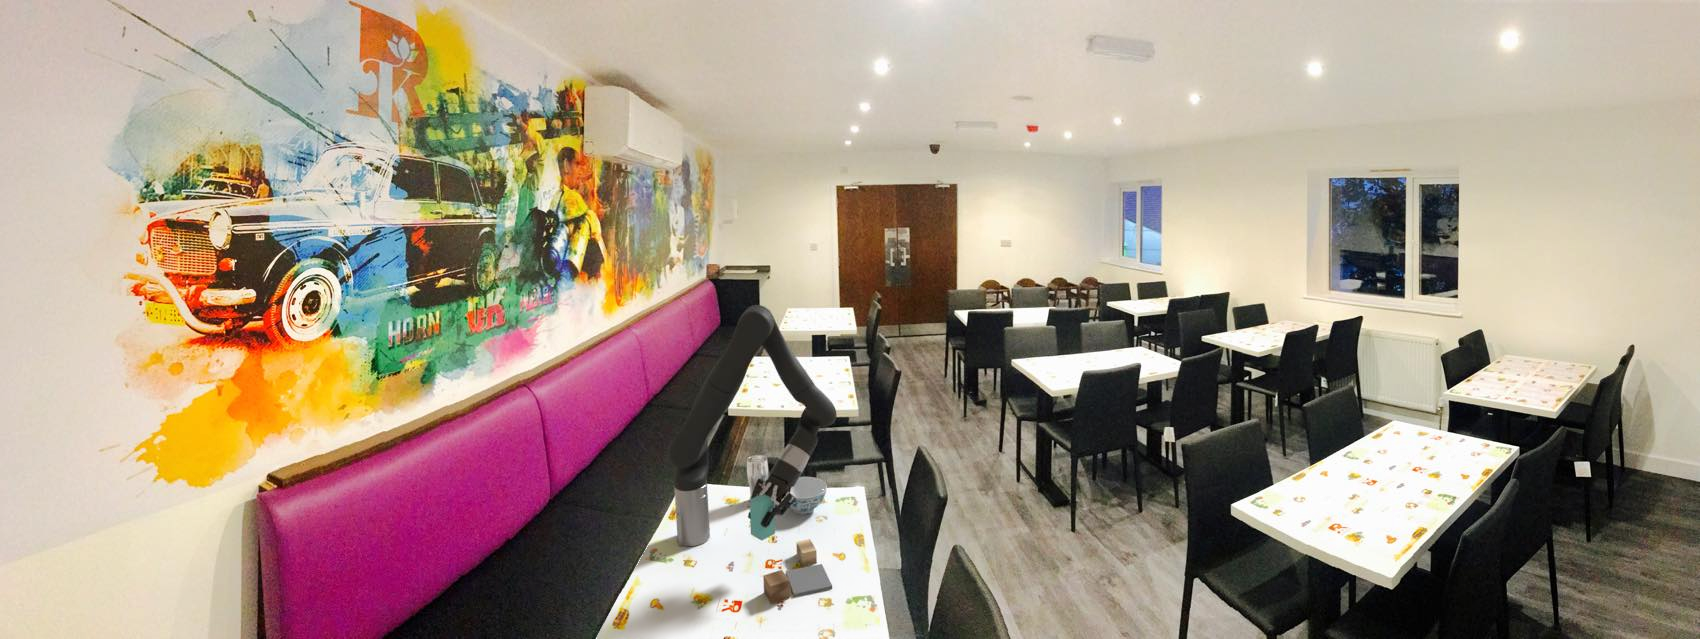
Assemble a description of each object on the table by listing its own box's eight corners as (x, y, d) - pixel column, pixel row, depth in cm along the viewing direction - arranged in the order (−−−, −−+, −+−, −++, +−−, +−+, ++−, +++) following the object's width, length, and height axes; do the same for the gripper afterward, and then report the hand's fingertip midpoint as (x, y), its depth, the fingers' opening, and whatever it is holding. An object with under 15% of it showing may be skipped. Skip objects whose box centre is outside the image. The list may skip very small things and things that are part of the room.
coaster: (794, 596, 148) (794, 593, 148) (785, 573, 158) (785, 571, 158) (832, 588, 152) (832, 585, 151) (821, 566, 161) (821, 563, 161)
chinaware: (825, 521, 184) (825, 498, 183) (777, 521, 184) (777, 498, 183) (828, 498, 199) (828, 476, 197) (783, 498, 199) (783, 476, 198)
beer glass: (765, 507, 193) (763, 464, 190) (745, 505, 194) (743, 462, 191) (772, 497, 200) (770, 455, 197) (752, 495, 201) (750, 454, 198)
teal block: (761, 540, 154) (761, 505, 152) (750, 534, 157) (749, 499, 155) (774, 533, 157) (774, 499, 155) (763, 527, 160) (763, 493, 158)
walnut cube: (771, 604, 146) (770, 586, 145) (764, 593, 150) (763, 575, 149) (789, 598, 148) (789, 580, 147) (782, 587, 152) (781, 569, 151)
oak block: (816, 563, 163) (816, 550, 162) (802, 566, 161) (802, 553, 160) (810, 551, 168) (810, 539, 167) (796, 554, 167) (796, 541, 166)
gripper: (765, 451, 164) (731, 508, 157) (801, 466, 154) (766, 527, 148) (780, 463, 169) (747, 518, 162) (815, 478, 159) (782, 538, 153)
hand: (756, 522), depth 155 cm, fingers closed on teal block, 4 cm apart
